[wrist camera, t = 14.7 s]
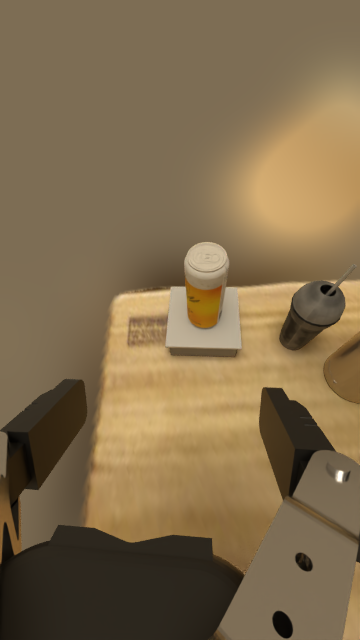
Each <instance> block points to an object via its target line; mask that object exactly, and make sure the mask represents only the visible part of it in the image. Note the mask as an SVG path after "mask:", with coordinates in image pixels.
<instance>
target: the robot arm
mask: <svg viewBox="0 0 360 640" xmlns="http://www.w3.org/2000/svg"><path fill="white" fill-rule="evenodd" d="M324 375H325V378H326V381H327V382H328V384H329V386H330V387H331V388H332V389H333V391H334V392H336V393H337V394H338V395H339V396H341V397H342V398H344V399H346V400H348V401H351V402H355V403H360V332H359V333H358V334H356V335H355V336H354V337H353V338H351V339H350V340H349V341H348V342H347V343H345V344H344V345H343V346H342V347H340V348H339V349H338V350H337V351H336V352H334V353H333V354H332V355H331V356H330V357H329V358H328V359H327V360H326V362H325V365H324ZM86 417H87V404H86V395H85V386H84V382H83V381H82V380H75V379H65V380H63V381H62V382H61V383H60V384H59V385H57V386H56V388H54V389H53V390H50V391H48V392H46V393H44V394H42V395H40V396H39V397H38V398H37V399H36V400H34V401H33V402H32V404H31V405H29V406H28V407H27V408H25V410H24V411H22V412H21V413H20V414H19V415H17V416H16V417H15V418H14V419H13V420H12V421H10V422H9V423H8V424H7V425H6V426H5V427H3V428H2V429H1V430H0V640H342V639H343V633H344V627H345V621H346V616H347V610H348V604H349V598H350V592H351V587H352V581H353V575H354V569H355V563H356V561H357V562H359V563H360V465H359V464H358V463H356V462H355V461H354V460H352V459H351V458H349V457H347V456H345V455H343V454H341V453H338V452H336V451H335V449H334V448H333V446H332V445H331V444H330V442H329V441H328V439H327V438H326V436H325V435H324V433H323V432H322V431H321V429H320V428H319V426H317V423H316V422H315V420H314V419H312V416H311V415H310V413H309V412H308V410H307V409H306V408H305V407H304V406H302V405H301V404H300V403H298V402H297V401H294V400H289V399H288V397H287V395H286V394H285V392H284V391H283V389H282V388H267V387H264V388H263V389H262V395H261V406H260V417H259V426H260V433H261V436H262V439H263V442H264V445H265V448H266V451H267V454H268V457H269V460H270V463H271V466H272V469H273V472H274V475H275V478H276V481H277V484H278V487H279V490H280V493H281V495H282V498H283V502H282V504H281V506H280V508H279V510H278V512H277V514H276V516H275V518H274V520H273V522H272V524H271V526H270V528H269V530H268V531H267V533H266V535H265V537H264V539H263V541H262V543H261V545H260V547H259V549H258V551H257V553H256V555H255V557H254V559H253V561H252V563H251V565H250V567H249V569H248V571H247V572H246V574H245V575H244V574H243V573H242V572H241V571H240V570H238V569H237V568H236V567H234V566H233V565H232V564H230V563H229V562H227V561H226V560H224V559H222V558H220V557H218V556H216V555H213V553H212V538H202V537H190V536H179V535H170V536H165V537H160V538H155V539H150V540H145V541H140V542H135V543H129V542H126V541H123V540H121V539H119V538H116V537H114V536H112V535H109V534H107V533H105V532H103V531H100V530H98V529H96V528H87V527H76V526H64V525H58V527H57V528H56V531H55V532H54V534H53V536H52V538H51V540H50V541H46V542H43V543H40V544H37V545H34V546H32V547H30V548H28V549H25V550H24V551H22V543H21V501H20V496H19V495H20V494H21V493H22V491H23V490H24V489H33V490H39V488H40V487H41V485H42V484H43V483H44V481H45V480H46V478H47V477H48V475H49V474H50V473H51V471H52V470H53V468H54V467H55V465H56V464H57V462H58V461H59V459H60V458H61V457H62V455H63V453H64V452H65V451H66V449H67V448H68V446H69V445H70V444H71V442H72V441H73V439H74V438H75V436H76V435H77V434H78V432H79V431H80V429H81V428H82V426H83V425H84V423H85V421H86Z"/></svg>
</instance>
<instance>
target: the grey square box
mask: <svg viewBox="0 0 360 640" xmlns="http://www.w3.org/2000/svg"><path fill="white" fill-rule="evenodd" d="M165 347H166V348H170V352H171V355H188V356H221V357H235V355H236V352H237V350H241V349H242V345H241V332H240V319H239V306H238V293H237V287H226V288H225V294H224V301H223V307H222V313H221V318H220V320H219V322H218V323H217V324H216V325H214V326H212V327H209V328H200V327H197V326H195V325H194V324H192V323H191V322H190V320H189V318H188V314H187V298H186V287H171V293H170V303H169V314H168V325H167V335H166V346H165Z"/></svg>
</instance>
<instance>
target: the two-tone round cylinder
mask: <svg viewBox="0 0 360 640" xmlns="http://www.w3.org/2000/svg"><path fill="white" fill-rule="evenodd" d="M184 267H185V282H186V298H187V314H188V318H189V320H190V322H191V323H192V324H194V325H195V326H197V327H200V328H209V327H212V326H214V325H216V324H217V323H218V322H219V320H220V318H221V313H222V307H223V301H224V294H225V288H226V281H227V275H228V269H229V259H228V257H227V253H226V251H225V250H224V248H222V247H221V246H220V245H218V244H215V243H211V242H203V243H199V244H196V245H194V246H193V247H192V248H191V249H190V250H189V251H188V253H187V256H186V258H185V261H184Z"/></svg>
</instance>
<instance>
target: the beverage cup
mask: <svg viewBox="0 0 360 640" xmlns="http://www.w3.org/2000/svg"><path fill="white" fill-rule="evenodd" d="M355 268H356V265H354V264H353V265H352V266H351V267H350V268H349V269H348V270H347V271H346V272H345V274H344V275H343V276H342V277H341V278H340V279H339V280H338V281H337V282H336V283H335V284H333V283H330V282H327V281H314V282H311V283H308V284H306V285H304V286H303V287H302V288H300V289H299V290H298V291H297V292H296V293H295V294H294V296H293V297H292V302H291V307H290V311H289V313H288V316H287V318H286V320H285V323H284V325H283V327H282V330H281V333H280V337H279V339H280V342H281V344H282V345H283V346H284V347H285V348H287V349H290V350H297V349H300V348H301V347H302V346H304V345H305V344H307V343H308V342H309V341H310V340H312V339H313V338H314V337H315V336H317V335H318V334H319V333H320V332H321V331H323V330H324V329H326V328H328V327H330V326H331V325H334V324H335V323H336V322H338V321H339V320H340V317H341V316H342V313H343V311H344V309H345V297H344V295H343V292H342V291H341V290H340V288H339V287H338V286H339V285H340V284H341V283H342V282H343V281H344V280H345V279H346V277H347V276H348V275H349V274H350V273H351V272H352V271H353V270H354V269H355Z"/></svg>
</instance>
